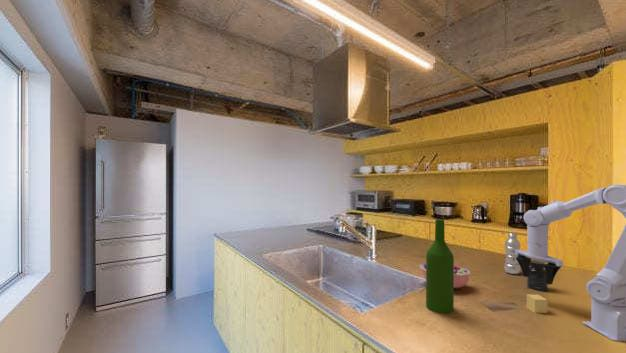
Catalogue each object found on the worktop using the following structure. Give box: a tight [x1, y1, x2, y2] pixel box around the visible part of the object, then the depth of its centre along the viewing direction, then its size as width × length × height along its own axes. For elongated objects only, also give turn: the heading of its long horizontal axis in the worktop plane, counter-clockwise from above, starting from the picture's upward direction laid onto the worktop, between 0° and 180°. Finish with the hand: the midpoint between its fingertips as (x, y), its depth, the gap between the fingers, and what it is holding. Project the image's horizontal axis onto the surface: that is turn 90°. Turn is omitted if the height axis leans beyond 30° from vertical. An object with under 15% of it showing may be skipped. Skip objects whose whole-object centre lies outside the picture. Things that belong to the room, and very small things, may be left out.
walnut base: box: [480, 301, 522, 313], centre depth 95 cm, size 12×12×1 cm
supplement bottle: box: [526, 260, 549, 292], centre depth 114 cm, size 7×7×12 cm
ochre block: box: [526, 294, 548, 314], centre depth 94 cm, size 4×4×6 cm
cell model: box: [419, 262, 471, 289], centre depth 117 cm, size 17×20×11 cm
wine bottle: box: [425, 218, 455, 315], centre depth 97 cm, size 9×9×32 cm
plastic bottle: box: [503, 231, 522, 275], centre depth 134 cm, size 6×7×20 cm
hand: (537, 280), depth 99 cm, fingers open, 7 cm apart
